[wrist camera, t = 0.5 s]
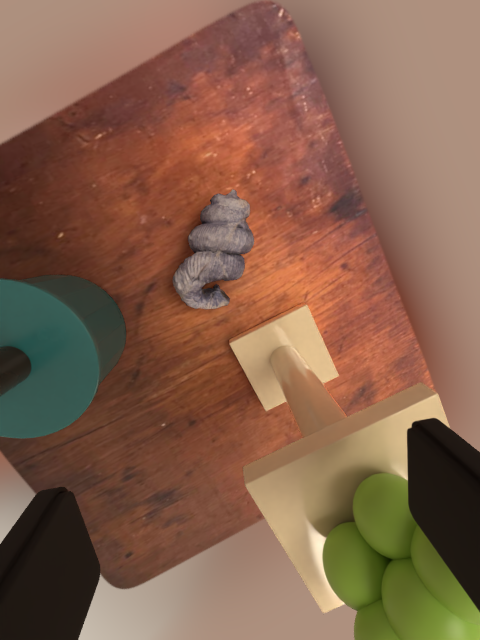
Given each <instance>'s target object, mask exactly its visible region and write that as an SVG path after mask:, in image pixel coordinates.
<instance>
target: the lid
mask: <svg viewBox="0 0 480 640" xmlns="http://www.w3.org/2000/svg"><path fill="white" fill-rule="evenodd" d="M100 378H101V358H100V352H99V348H98V345H97V342H96V340H95V337H94V335H93V333H92V331H91V330H90V328H89V326H88V325H87V323H86V322H85V320H84V319H83V318H82V317H81V315H80V314H79V313H78V312H77V311H76V310H75V309H74V308H73V307H72V306H71V305H70V304H68V303H67V302H66V301H64V300H63V299H62V298H60V297H59V296H57V295H55V294H54V293H52V292H51V291H48V290H46V289H44V288H42V287H40V286H37V285H34V284H31V283H28V282H24V281H19V280H15V279H3V278H0V436H3V437H9V438H34V437H40V436H45V435H48V434H51V433H54V432H57V431H59V430H61V429H63V428H65V427H67V426H68V425H70V424H71V423H73V422H74V421H75V420H76V419H78V418H79V417H80V416H81V415H82V414H83V413H84V411H85V410H86V409H87V408H88V407H89V405H90V404H91V402H92V401H93V399H94V397H95V395H96V393H97V390H98V387H99V383H100Z"/></svg>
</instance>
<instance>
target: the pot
mask: <svg viewBox="0 0 480 640" xmlns="http://www.w3.org/2000/svg"><path fill="white" fill-rule="evenodd" d="M19 281H24V282H28V283H31V284H34V285H37V286H40V287H42V288H44V289H46V290H48V291H51V292H52V293H54V294H55V295H57V296H59V297H60V298H62V299H63V300H64V301H66V302H67V303H68V304H70V305H71V306H72V307H73V308H74V309H75V310H76V311H77V312H78V313H79V314H80V315H81V317H82V318H83V319H84V320H85V322H86V323H87V325H88V326H89V328H90V330H91V331H92V333H93V335H94V337H95V340H96V342H97V345H98V348H99V352H100V358H101V378H100V383H101V382H102V381H103V379H104V378H105V377H106V376H107V375H108V373H109V372H110V371H111V370H112V369H113V368H114V366H115V365H116V364H117V363H118V361H119V358H120V357H121V354H122V352H123V350H124V346H125V341H126V328H125V322H124V319H123V316H122V314H121V311H120V309H119V308H118V306H117V304H116V303H115V302H114V300H113V299H112V298H111V297H110V296H109V295H108V294H107V293H106V292H105V291H104V290H103V289H102V288H100V287H99V286H97V285H96V284H94V283H92V282H90V281H88V280H86V279H83V278H80V277H76V276H71V275H45V276H39V277H34V278H28V279H23V280H19ZM100 383H99V384H100Z"/></svg>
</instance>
